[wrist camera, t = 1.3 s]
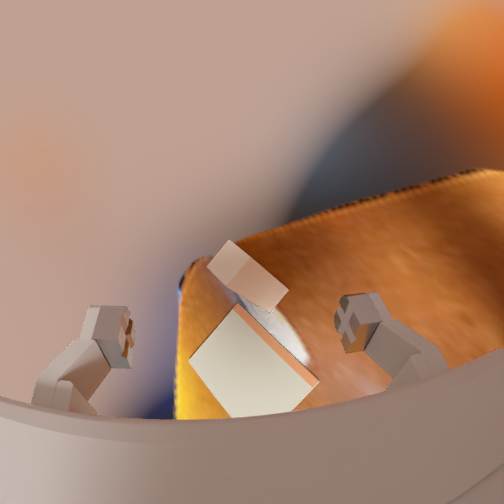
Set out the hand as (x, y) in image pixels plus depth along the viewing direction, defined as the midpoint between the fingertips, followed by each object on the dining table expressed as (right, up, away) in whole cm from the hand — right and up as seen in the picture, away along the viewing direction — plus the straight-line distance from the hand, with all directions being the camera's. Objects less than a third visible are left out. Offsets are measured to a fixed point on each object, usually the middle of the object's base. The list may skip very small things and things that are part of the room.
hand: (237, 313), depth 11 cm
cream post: (+3, -4, +35) cm, 35 cm away
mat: (0, -15, +30) cm, 34 cm away
